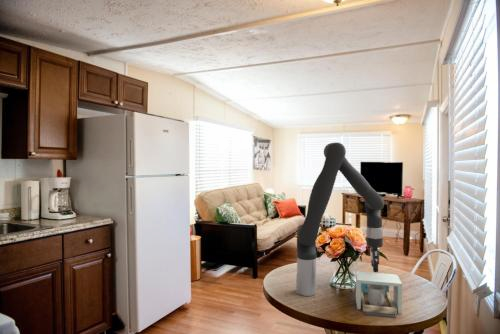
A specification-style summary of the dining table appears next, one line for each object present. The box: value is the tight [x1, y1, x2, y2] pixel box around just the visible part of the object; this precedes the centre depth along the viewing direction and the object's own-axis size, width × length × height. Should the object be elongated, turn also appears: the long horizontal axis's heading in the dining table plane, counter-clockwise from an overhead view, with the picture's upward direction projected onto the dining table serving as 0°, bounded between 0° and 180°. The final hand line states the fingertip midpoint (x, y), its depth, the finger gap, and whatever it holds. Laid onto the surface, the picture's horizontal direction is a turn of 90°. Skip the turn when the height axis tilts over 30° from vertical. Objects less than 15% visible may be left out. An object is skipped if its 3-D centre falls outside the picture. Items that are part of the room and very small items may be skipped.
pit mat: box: [364, 311, 397, 319], centre depth 142 cm, size 12×2×1 cm, turn 76°
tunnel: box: [355, 270, 403, 315], centre depth 152 cm, size 18×12×13 cm, turn 76°
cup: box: [366, 284, 386, 306], centre depth 152 cm, size 11×8×8 cm
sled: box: [361, 283, 398, 316], centre depth 155 cm, size 13×24×9 cm, turn 166°
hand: (374, 269), depth 166 cm, fingers open, 8 cm apart
